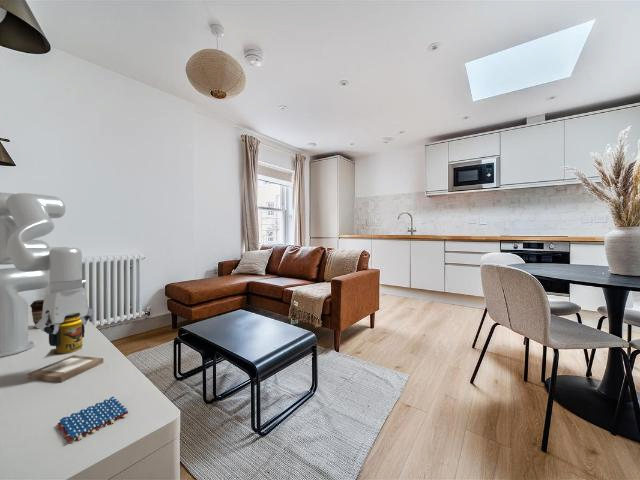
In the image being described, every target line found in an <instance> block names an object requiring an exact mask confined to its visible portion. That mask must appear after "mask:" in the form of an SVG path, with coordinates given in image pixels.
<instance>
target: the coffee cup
mask: <svg viewBox="0 0 640 480" xmlns="http://www.w3.org/2000/svg"><path fill="white" fill-rule="evenodd" d="M43 303H44V299H38V300H33V301H32V303H31V304H30V306H29V307H30V309H31V316H32V322H33V323H34V325H33V329H37V328H36V327H35V325H36V324H37V323H38V322H39V321H40V319H41V318H42V311H43ZM49 324H50V323H49ZM49 324H45V325H46V326H49Z"/></svg>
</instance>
